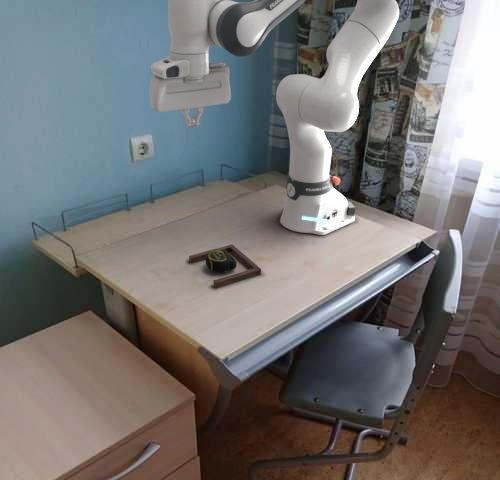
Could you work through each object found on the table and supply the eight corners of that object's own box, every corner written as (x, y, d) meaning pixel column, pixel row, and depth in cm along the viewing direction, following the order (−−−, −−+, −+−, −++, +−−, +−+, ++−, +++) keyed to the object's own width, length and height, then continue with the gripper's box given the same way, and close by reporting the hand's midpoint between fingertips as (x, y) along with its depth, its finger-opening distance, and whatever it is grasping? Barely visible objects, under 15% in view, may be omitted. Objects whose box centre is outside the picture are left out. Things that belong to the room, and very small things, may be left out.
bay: (232, 249, 137) (232, 244, 136) (261, 274, 127) (261, 268, 126) (189, 261, 131) (188, 255, 130) (215, 288, 121) (215, 282, 120)
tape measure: (237, 272, 127) (237, 259, 125) (212, 278, 125) (211, 264, 123) (226, 259, 132) (226, 246, 130) (202, 264, 130) (201, 251, 128)
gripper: (222, 59, 126) (223, 117, 134) (144, 66, 117) (149, 128, 125) (235, 63, 121) (235, 123, 130) (154, 71, 113) (160, 135, 121)
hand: (192, 125), depth 127 cm, fingers closed
